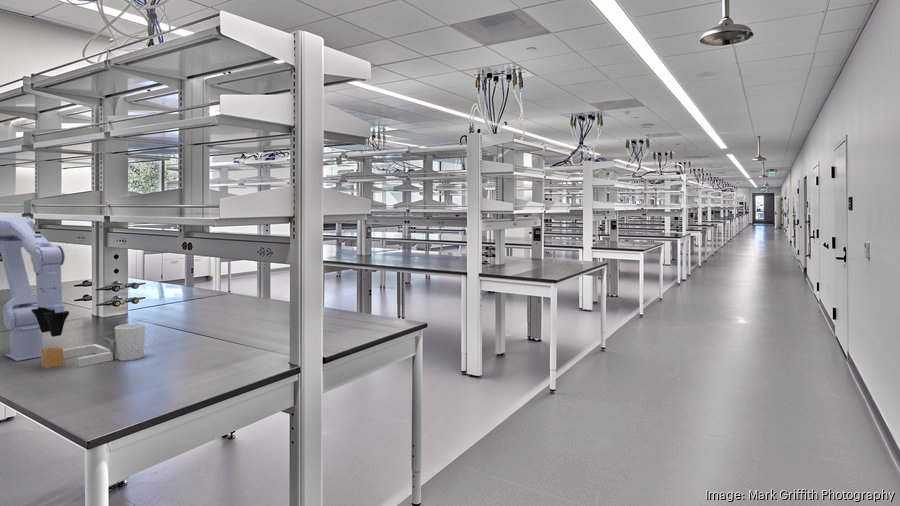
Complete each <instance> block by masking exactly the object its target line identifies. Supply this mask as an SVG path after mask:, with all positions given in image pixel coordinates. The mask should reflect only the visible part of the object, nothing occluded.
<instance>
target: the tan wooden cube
mask: <svg viewBox="0 0 900 506" xmlns="http://www.w3.org/2000/svg"><path fill="white" fill-rule="evenodd" d="M63 350H64V348H62V347H60V346H52V347H47V348H45V347H43V349H41V357H40V358H41V366H42V367H44V368H46V369H50V368H55V367H61V366H64V365H65V364H64V359H63Z"/></svg>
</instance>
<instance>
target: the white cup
mask: <svg viewBox="0 0 900 506" xmlns="http://www.w3.org/2000/svg"><path fill="white" fill-rule="evenodd" d="M145 329H146V325H145V323H135V322H134V323H124V324H120V325H117V326H116V325H115V327H114V335H115V337H114V338H115V343H116V352H117V359H118V360H119V361H124V362H127V361H135V360H139V359H142V358H143V357H144V356H145V354H144V353H145V352H144V350H145V339H146V336H145V333H146V330H145Z"/></svg>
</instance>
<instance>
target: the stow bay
mask: <svg viewBox="0 0 900 506" xmlns="http://www.w3.org/2000/svg"><path fill="white" fill-rule="evenodd" d="M101 341H104V342H106V343H108V344H109V348H108V347H105V346H102V345H100V344H98V343H95V344H87V345H83V346H77V347H71V348H65V349H63V360H64V359H68V358H69V359H70V358H75V357H77V359H76V360H77V367H78V368H81V367H88V366H92V365H97V364H101V363H102V364H103V363H106V362H110V361H115V360H116V361H117V347H116V339H112V338H111V339H110V338H108V337H105V336H103V337H102V338H101ZM90 354H91V355H90ZM84 355H86V356H84ZM79 356H81V357H79Z"/></svg>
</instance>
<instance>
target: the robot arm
mask: <svg viewBox="0 0 900 506" xmlns="http://www.w3.org/2000/svg"><path fill="white" fill-rule="evenodd" d="M22 248H23V249H24V250H25V251H26V252H27V253H28V254H29V255H30V261H31V264H32V270H33V273H35V283H36V295H34V294H33V292H32V287H31V284H30V281H29V277H28V273H27V269H26V264H25V261H24V257H23V253H22ZM0 256H1V259H2V262H3V263H2V264H3V267H4V272H5V275H6V279H7V283H8V286H9V291H10V294H11V295H10V296H11V299H10V300H9V301H7V302H6V303H5V304H4V305H3V307H2V314H3V317H2V318H3V324H4V326H5V328H7V329H8V330H11V331H10V333H9V337H8V338H9V351H10V353H7V354H5V356H6V357H7V358H10V359H12V360H14V361H15V362H19V361H25V360H30V359H36V358H41V349H44V338H43V337H44V336H43V333H49V332H50V336H51V337H52V338H53V337H59V336H62V334H63V330H64V325H65V322H66V320H67V318H68V316H69V315H70V311H69V310H65V305H64V301H63V290H62V289H63V287H62V285H63V284H62V267H61V266H63V265H64V263H65V258H66V256H65V251H64V249H63V248H62V246H61V245H60V244H59V245H53V244H52V243H51V242H50V241H49V240H48V239H47V238H46V237H45V236H44V235H42V234H41V233H36V232H35V223H34V221H33V219H32V218H31V217H30V216H0Z"/></svg>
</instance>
